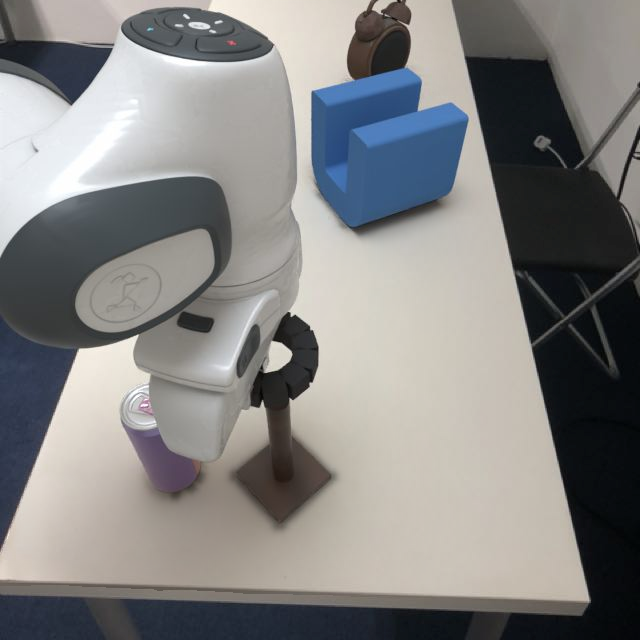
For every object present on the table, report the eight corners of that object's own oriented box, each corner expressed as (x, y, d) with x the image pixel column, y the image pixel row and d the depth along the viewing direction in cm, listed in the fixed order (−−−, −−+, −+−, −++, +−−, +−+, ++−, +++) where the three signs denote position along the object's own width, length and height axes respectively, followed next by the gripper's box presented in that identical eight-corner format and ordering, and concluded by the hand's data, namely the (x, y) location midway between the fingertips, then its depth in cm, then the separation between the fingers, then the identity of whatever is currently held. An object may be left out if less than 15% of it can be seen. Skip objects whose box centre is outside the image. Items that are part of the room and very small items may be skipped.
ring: (260, 427, 48) (258, 414, 46) (192, 362, 52) (188, 347, 51) (339, 363, 52) (339, 348, 51) (269, 308, 57) (268, 293, 55)
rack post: (280, 523, 64) (272, 453, 51) (236, 475, 68) (218, 398, 55) (331, 478, 68) (335, 401, 55) (286, 434, 71) (281, 353, 58)
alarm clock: (365, 107, 122) (373, 8, 107) (342, 94, 126) (347, -3, 111) (411, 85, 129) (424, -11, 114) (388, 73, 132) (398, -21, 117)
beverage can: (186, 501, 66) (159, 438, 54) (140, 485, 67) (105, 420, 55) (209, 456, 69) (188, 389, 58) (165, 442, 70) (137, 373, 59)
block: (447, 210, 100) (469, 116, 87) (359, 240, 95) (367, 146, 81) (393, 157, 111) (405, 66, 97) (311, 182, 105) (311, 89, 91)
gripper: (245, 173, 45) (257, 292, 56) (116, 376, 33) (163, 480, 43) (321, 188, 44) (319, 306, 55) (219, 403, 31) (241, 503, 42)
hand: (250, 384), depth 49 cm, fingers closed on ring, 2 cm apart
